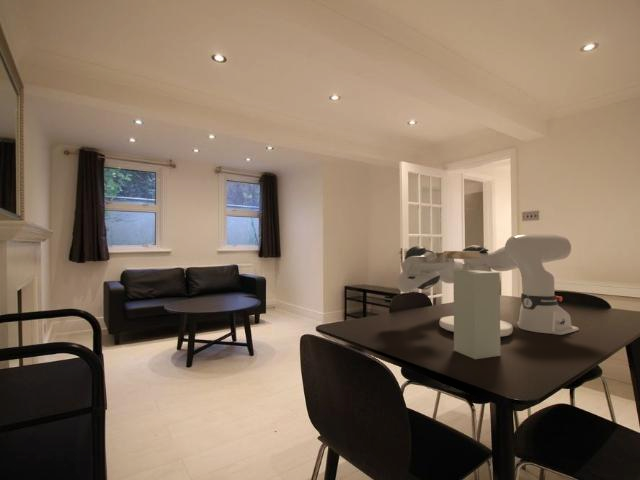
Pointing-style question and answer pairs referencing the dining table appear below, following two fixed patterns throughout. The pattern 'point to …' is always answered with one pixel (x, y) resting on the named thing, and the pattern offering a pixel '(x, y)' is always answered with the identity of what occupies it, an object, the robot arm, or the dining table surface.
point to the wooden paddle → (459, 255)
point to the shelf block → (477, 313)
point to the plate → (448, 324)
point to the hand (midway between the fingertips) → (440, 253)
